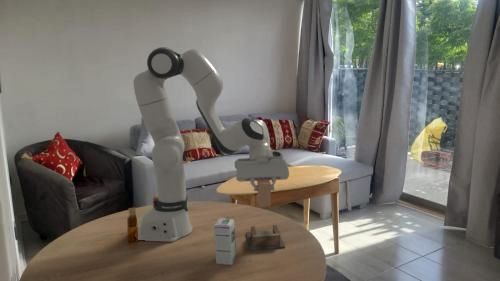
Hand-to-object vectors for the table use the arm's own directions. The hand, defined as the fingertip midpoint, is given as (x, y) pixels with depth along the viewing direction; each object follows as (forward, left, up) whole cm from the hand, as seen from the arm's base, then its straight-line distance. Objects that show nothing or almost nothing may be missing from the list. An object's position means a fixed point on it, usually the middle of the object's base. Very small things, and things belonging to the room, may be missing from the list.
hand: (264, 190), depth 145 cm
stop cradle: (0, -3, -19) cm, 19 cm away
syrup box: (-15, -15, -19) cm, 29 cm away
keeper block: (0, +1, -6) cm, 6 cm away
